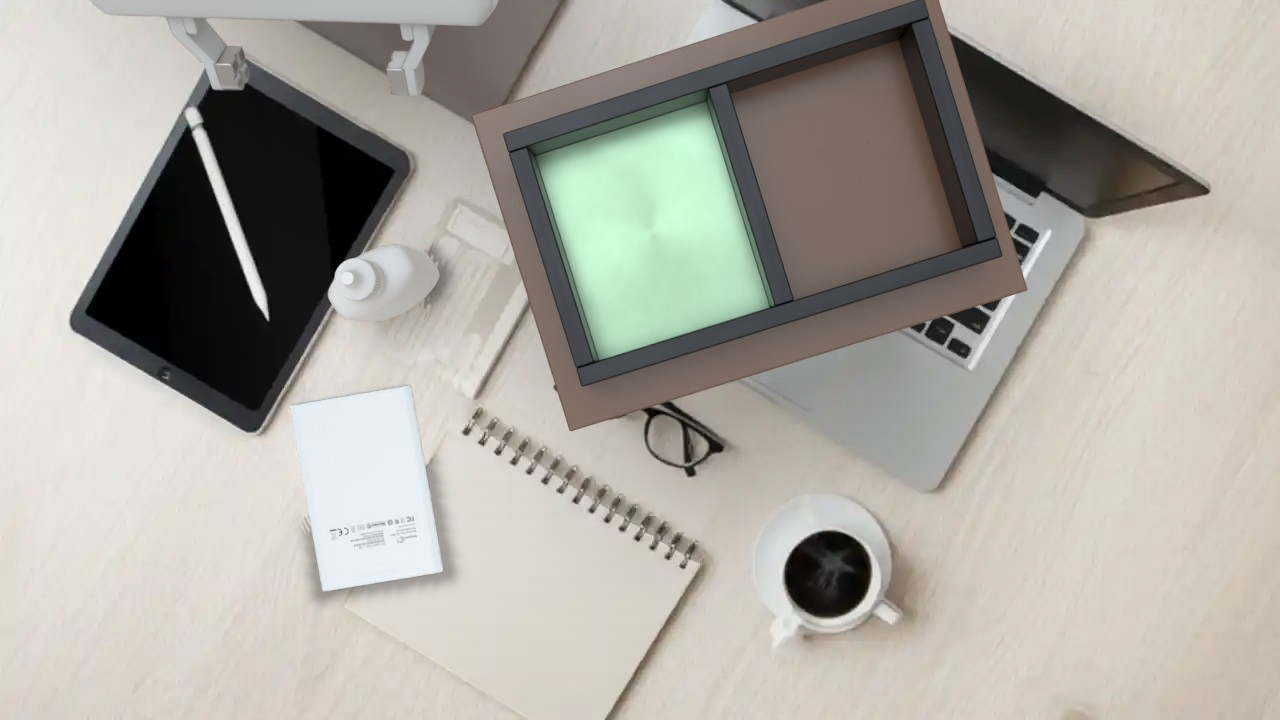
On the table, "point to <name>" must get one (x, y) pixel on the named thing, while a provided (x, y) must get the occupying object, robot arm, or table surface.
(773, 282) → the brown compartment tray
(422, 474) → the hard drive
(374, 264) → the eye dropper bottle
